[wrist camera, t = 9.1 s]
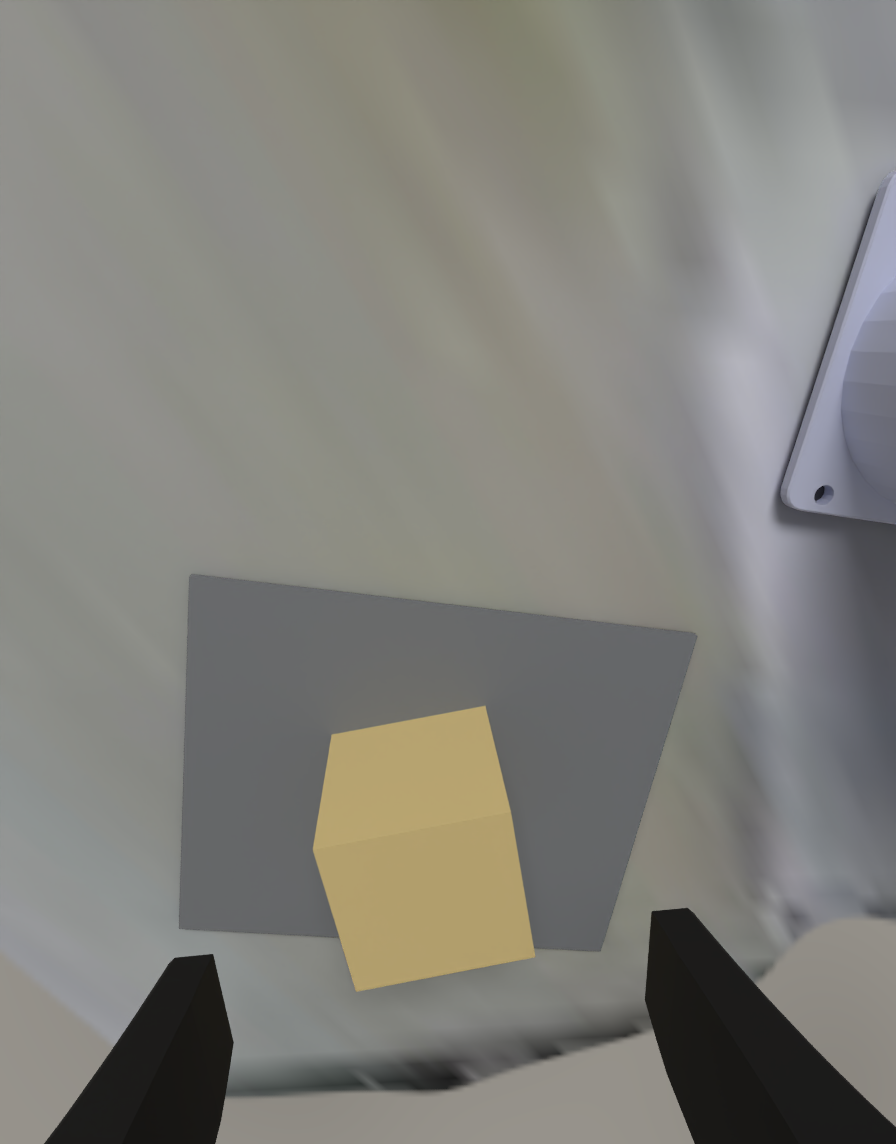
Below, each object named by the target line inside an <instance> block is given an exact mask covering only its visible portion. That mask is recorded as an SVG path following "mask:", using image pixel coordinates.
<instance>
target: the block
mask: <svg viewBox="0 0 896 1144" xmlns="http://www.w3.org/2000/svg"><path fill="white" fill-rule="evenodd" d="M313 852H314V856H315V859H316V862H317V865H318V869H319V872H320V875H321V878H322V882H323V885H324V888H325V892H326V895H327V898H328V901H329V905H330V908H331V911H332V914H333V918H334V921H335V924H336V927H337V931H338V934H339V937H340V940H341V944H342V947H343V950H344V954H345V957H346V960H347V963H348V967H349V970H350V973H351V976H352V980H353V983H354V986H355V989H356V992H357V991H362V990H368V989H373V988H378V987H383V986H388V985H394V984H399V983H404V982H409V981H414V980H419V979H425V978H430V977H435V976H440V975H445V974H451V973H456V972H461V971H466V970H471V969H476V968H482V967H487V966H492V965H497V964H502V963H508V962H513V961H518V960H523V959H528V958H533V957H535V952H534V946H533V940H532V934H531V928H530V922H529V916H528V910H527V904H526V898H525V892H524V887H523V881H522V875H521V869H520V863H519V857H518V851H517V845H516V839H515V833H514V827H513V821H512V815H511V810H510V806H509V802H508V798H507V793H506V789H505V785H504V781H503V777H502V773H501V769H500V764H499V760H498V756H497V752H496V748H495V744H494V740H493V735H492V731H491V727H490V723H489V719H488V715H487V711H486V706H481V707H476V708H471V709H465V710H460V711H455V712H449V713H444V714H439V715H433V716H428V717H423V718H418V719H412V720H407V721H402V722H396V723H391V724H386V725H380V726H375V727H370V728H364V729H359V730H354V731H348V732H343V733H338V734H332V735H331V741H330V747H329V754H328V760H327V766H326V772H325V778H324V784H323V790H322V796H321V802H320V808H319V814H318V820H317V826H316V832H315V839H314V845H313Z"/></svg>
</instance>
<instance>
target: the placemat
mask: <svg viewBox="0 0 896 1144" xmlns="http://www.w3.org/2000/svg"><path fill="white" fill-rule="evenodd" d="M696 639H697V635H696V634H695V633H689V632H680V631H672V630H663V629H654V628H646V627H637V626H629V625H620V624H612V623H603V622H595V621H586V620H578V619H569V618H561V617H552V616H544V615H535V614H527V613H518V612H510V611H501V610H493V609H484V608H475V607H467V606H458V605H450V604H441V603H433V602H424V601H416V600H407V599H399V598H390V597H382V596H373V595H365V594H356V593H348V592H339V591H331V590H322V589H314V588H305V587H296V586H288V585H279V584H271V583H262V582H254V581H245V580H237V579H228V578H220V577H211V576H203V575H194V574H191V575H190V576H189V601H188V635H187V669H186V704H185V738H184V772H183V806H182V841H181V875H180V909H179V929H193V930H212V931H231V932H249V933H268V934H287V935H305V936H324V937H339V934H338V931H337V927H336V924H335V921H334V918H333V914H332V911H331V908H330V905H329V901H328V898H327V895H326V892H325V888H324V885H323V882H322V878H321V875H320V872H319V869H318V865H317V862H316V859H315V856H314V852H313V845H314V839H315V832H316V826H317V820H318V814H319V808H320V802H321V796H322V790H323V784H324V778H325V772H326V766H327V760H328V754H329V747H330V741H331V735H332V734H338V733H343V732H348V731H354V730H359V729H364V728H370V727H375V726H380V725H386V724H391V723H396V722H402V721H407V720H412V719H418V718H423V717H428V716H433V715H439V714H444V713H449V712H455V711H460V710H465V709H471V708H476V707H481V706H486V711H487V715H488V719H489V723H490V727H491V731H492V735H493V740H494V744H495V748H496V752H497V756H498V760H499V764H500V769H501V773H502V777H503V781H504V785H505V789H506V793H507V798H508V802H509V806H510V810H511V815H512V821H513V827H514V833H515V839H516V845H517V851H518V857H519V863H520V869H521V875H522V881H523V887H524V892H525V898H526V904H527V910H528V916H529V922H530V928H531V934H532V940H533V946H534V948H547V949H566V950H585V951H601V948H602V945H603V942H604V939H605V935H606V932H607V929H608V926H609V922H610V919H611V916H612V913H613V909H614V906H615V903H616V900H617V896H618V893H619V890H620V886H621V883H622V880H623V877H624V873H625V870H626V867H627V864H628V860H629V857H630V854H631V851H632V847H633V844H634V841H635V838H636V834H637V831H638V828H639V825H640V821H641V818H642V815H643V812H644V808H645V805H646V802H647V799H648V795H649V792H650V789H651V786H652V782H653V779H654V776H655V773H656V769H657V766H658V763H659V760H660V756H661V753H662V750H663V747H664V743H665V740H666V737H667V734H668V730H669V727H670V724H671V721H672V717H673V714H674V711H675V708H676V704H677V701H678V698H679V695H680V691H681V688H682V685H683V682H684V678H685V675H686V672H687V669H688V665H689V662H690V659H691V656H692V652H693V649H694V646H695V643H696Z"/></svg>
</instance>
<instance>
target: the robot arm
mask: <svg viewBox="0 0 896 1144" xmlns="http://www.w3.org/2000/svg"><path fill="white" fill-rule="evenodd" d="M821 486H824V488H825V490H824V494H823V496H822V498H820V499H819V500H817V501H815V499H814V496H815V492H816V491H817V489H818V488H820V487H821ZM780 495H781V499H782V501H783V502H784V503H785V504H786V506H789V507H791V508H793V509H796V510H799V511H805V512H812V513H819V514H826V515H833V516H840V517H847V518H854V519H860V520H867V521H874V522H881V523H888V524H895V525H896V170H894V171H892V172H890V173H889V174H888V175H887V176H886V177H885V178H884V179H883V181H882V183H881V185H880V187H879V189H878V192H877V195H876V198H875V202H874V205H873V208H872V211H871V214H870V217H869V220H868V223H867V226H866V229H865V232H864V235H863V238H862V241H861V244H860V247H859V251H858V254H857V257H856V260H855V263H854V266H853V269H852V272H851V275H850V278H849V281H848V284H847V287H846V290H845V293H844V296H843V300H842V303H841V306H840V309H839V312H838V315H837V318H836V321H835V324H834V327H833V330H832V333H831V336H830V339H829V342H828V345H827V349H826V352H825V355H824V358H823V361H822V364H821V367H820V370H819V373H818V376H817V379H816V382H815V385H814V388H813V391H812V394H811V398H810V401H809V404H808V407H807V410H806V413H805V416H804V419H803V422H802V425H801V428H800V431H799V434H798V437H797V440H796V443H795V447H794V450H793V453H792V456H791V459H790V462H789V465H788V468H787V471H786V474H785V477H784V480H783V483H782V486H781V493H780ZM645 1002H646V1005H647V1009H648V1012H649V1016H650V1019H651V1023H652V1026H653V1029H654V1033H655V1036H656V1040H657V1043H658V1046H659V1050H660V1053H661V1056H662V1059H663V1062H664V1066H665V1069H666V1072H667V1075H668V1078H669V1080H670V1082H671V1085H672V1087H673V1090H674V1093H675V1095H676V1098H677V1100H678V1103H679V1105H680V1108H681V1110H682V1113H683V1115H684V1118H685V1120H686V1123H687V1126H688V1128H689V1131H690V1133H691V1136H692V1138H693V1140H694V1143H695V1144H896V1127H895V1126H894V1125H893V1124H892V1123H891V1122H890V1121H888V1120H887V1119H886V1118H885V1117H884V1116H883V1115H882V1114H881V1113H880V1112H879V1111H878V1110H877V1109H876V1108H875V1107H874V1106H873V1105H872V1104H870V1102H869V1101H867V1100H866V1099H865V1098H864V1097H863V1096H862V1095H861V1094H860V1093H859V1092H858V1091H857V1090H856V1089H855V1088H854V1087H853V1086H852V1085H851V1084H850V1083H849V1082H848V1081H847V1080H846V1079H845V1078H844V1077H843V1076H842V1075H841V1074H840V1073H839V1072H838V1071H837V1070H836V1069H835V1068H834V1067H833V1066H832V1065H831V1064H830V1063H829V1062H828V1061H827V1060H826V1059H825V1058H824V1057H823V1056H822V1055H821V1054H820V1053H819V1052H818V1051H817V1050H816V1049H815V1048H814V1047H813V1046H812V1045H811V1044H810V1043H809V1042H808V1041H807V1040H806V1039H805V1038H804V1036H803V1035H802V1034H801V1033H800V1032H799V1031H798V1030H797V1029H796V1028H795V1027H794V1026H793V1025H792V1024H791V1023H790V1022H789V1021H788V1020H787V1019H786V1017H785V1016H784V1015H783V1014H782V1013H781V1012H780V1011H779V1010H778V1009H777V1008H776V1007H775V1006H774V1005H773V1003H772V1002H771V1001H770V1000H769V999H768V998H767V997H766V996H765V995H764V994H763V993H762V992H761V990H760V989H759V988H758V987H757V986H756V985H755V984H754V982H753V981H752V980H751V979H750V978H749V977H748V976H747V975H746V973H745V972H744V971H743V970H742V969H741V968H740V967H739V966H738V964H737V963H736V962H735V961H734V960H733V959H732V958H731V956H730V955H729V954H728V953H727V952H726V951H725V950H724V948H723V947H722V946H721V945H720V944H719V943H718V941H717V940H716V939H715V938H714V937H713V935H712V934H711V933H710V932H709V931H708V930H707V928H706V927H705V926H704V925H703V924H702V923H701V921H700V920H699V919H698V918H697V917H696V915H695V914H694V913H693V912H692V911H691V910H689V909H688V908H682V909H672V910H661V911H652V914H651V927H650V940H649V954H648V967H647V980H646V993H645ZM232 1049H233V1038H232V1034H231V1030H230V1025H229V1021H228V1017H227V1012H226V1008H225V1004H224V999H223V995H222V991H221V986H220V982H219V978H218V973H217V969H216V965H215V960H214V956H213V954H209V955H199V956H188V957H178V958H174V959H173V960H172V961H171V962H170V963H169V964H168V966H167V968H166V969H165V971H164V972H163V974H162V975H161V977H160V978H159V980H158V981H157V983H156V984H155V986H154V988H153V989H152V991H151V992H150V994H149V995H148V997H147V998H146V1000H145V1001H144V1003H143V1004H142V1006H141V1007H140V1009H139V1010H138V1012H137V1013H136V1015H135V1016H134V1018H133V1019H132V1021H131V1022H130V1024H129V1025H128V1027H127V1028H126V1030H125V1031H124V1033H123V1034H122V1036H121V1037H120V1039H119V1040H118V1042H117V1043H116V1045H115V1046H114V1047H113V1049H112V1050H111V1052H110V1054H109V1055H108V1056H107V1058H106V1059H105V1061H104V1062H103V1064H102V1065H101V1067H100V1068H99V1069H98V1070H97V1072H96V1073H95V1075H94V1076H93V1078H92V1079H91V1080H90V1082H89V1083H88V1084H87V1086H86V1087H85V1089H84V1090H83V1092H82V1093H81V1094H80V1096H79V1097H78V1099H77V1100H76V1102H75V1103H74V1104H73V1106H72V1107H71V1109H70V1110H69V1111H68V1113H67V1114H66V1115H65V1117H64V1118H63V1119H62V1121H61V1122H60V1124H59V1125H58V1126H57V1128H56V1129H55V1130H54V1131H53V1133H52V1134H51V1135H50V1137H49V1138H48V1139H47V1141H46V1142H45V1143H44V1144H215V1142H216V1138H217V1134H218V1130H219V1126H220V1122H221V1117H222V1111H223V1105H224V1100H225V1094H226V1088H227V1082H228V1075H229V1069H230V1062H231V1056H232Z"/></svg>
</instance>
